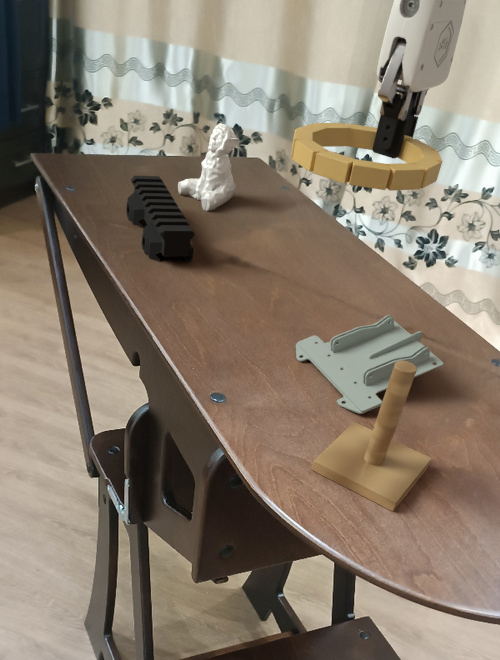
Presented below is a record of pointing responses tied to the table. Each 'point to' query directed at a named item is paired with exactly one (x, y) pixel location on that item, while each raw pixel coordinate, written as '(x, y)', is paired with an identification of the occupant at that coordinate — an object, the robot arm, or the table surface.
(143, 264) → the table surface
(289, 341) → the table surface
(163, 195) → the rail mount
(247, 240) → the table surface
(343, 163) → the ring
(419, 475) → the peg
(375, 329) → the metal bracket
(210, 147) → the seated beast figurine
